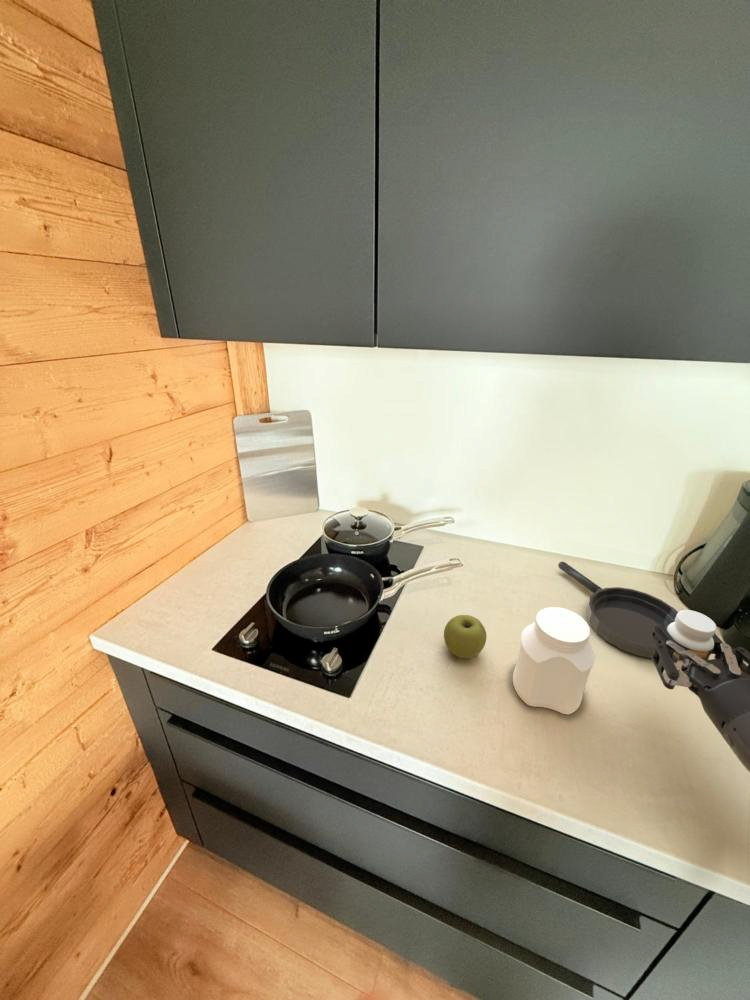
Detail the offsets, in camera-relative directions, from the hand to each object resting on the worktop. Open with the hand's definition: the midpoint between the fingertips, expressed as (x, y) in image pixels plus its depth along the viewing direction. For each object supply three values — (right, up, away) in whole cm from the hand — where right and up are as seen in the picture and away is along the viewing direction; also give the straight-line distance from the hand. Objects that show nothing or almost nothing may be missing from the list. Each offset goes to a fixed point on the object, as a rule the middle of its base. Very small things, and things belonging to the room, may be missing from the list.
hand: (678, 629), depth 64 cm
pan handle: (+3, 0, +37) cm, 37 cm away
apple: (-29, -10, +19) cm, 36 cm away
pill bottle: (0, -7, 0) cm, 7 cm away
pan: (+9, -7, +25) cm, 27 cm away
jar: (-15, -14, +11) cm, 24 cm away
